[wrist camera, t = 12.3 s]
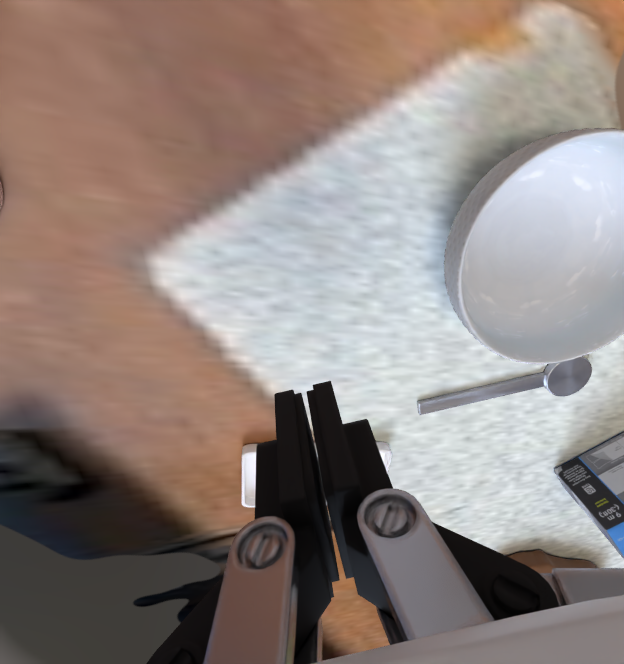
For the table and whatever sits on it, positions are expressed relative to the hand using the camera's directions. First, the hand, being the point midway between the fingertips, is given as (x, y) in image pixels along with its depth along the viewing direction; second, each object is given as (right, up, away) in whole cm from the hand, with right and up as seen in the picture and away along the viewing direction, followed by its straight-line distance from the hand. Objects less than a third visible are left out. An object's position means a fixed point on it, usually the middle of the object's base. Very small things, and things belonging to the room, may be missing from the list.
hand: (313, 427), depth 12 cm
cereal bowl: (+18, +11, +23) cm, 31 cm away
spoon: (+20, -3, +29) cm, 35 cm away
